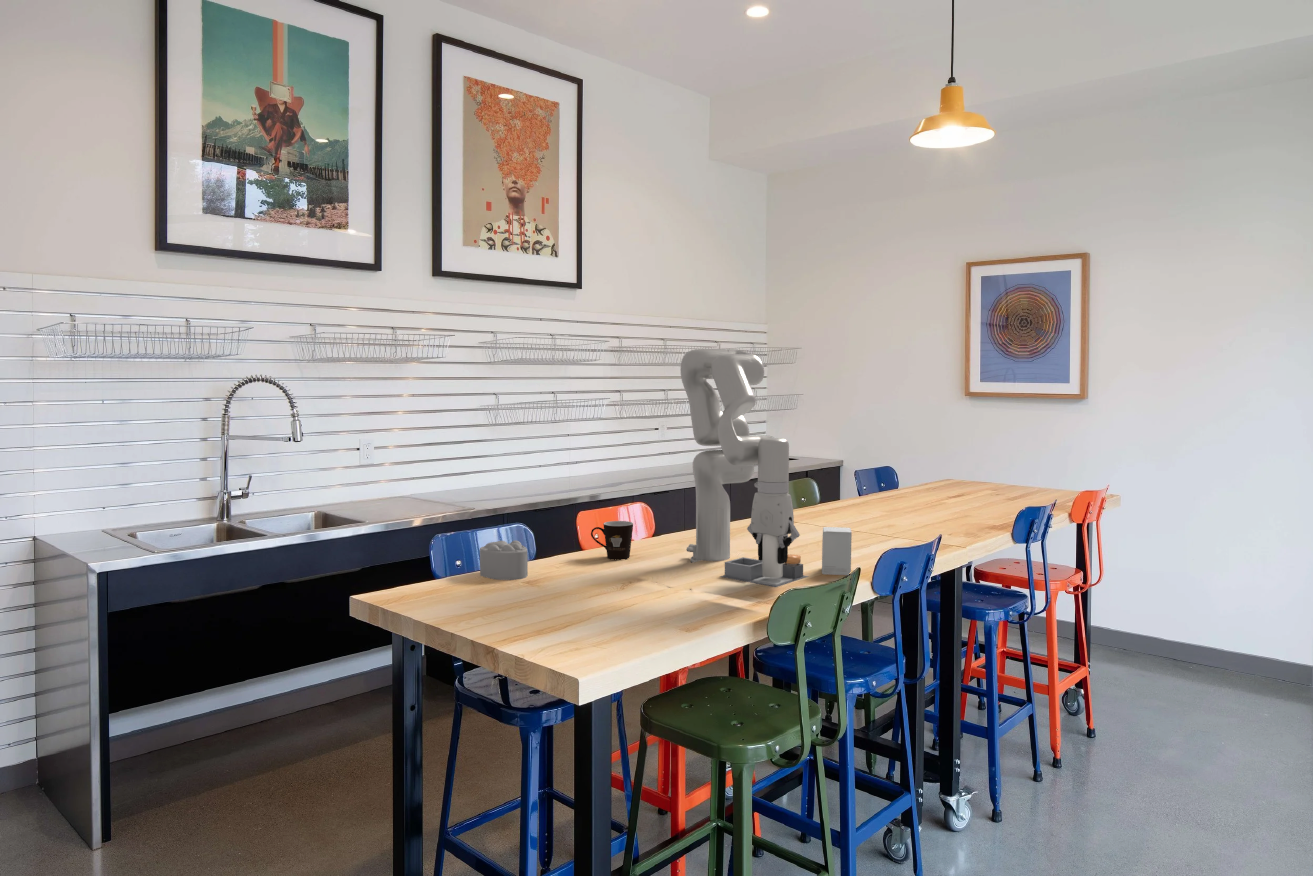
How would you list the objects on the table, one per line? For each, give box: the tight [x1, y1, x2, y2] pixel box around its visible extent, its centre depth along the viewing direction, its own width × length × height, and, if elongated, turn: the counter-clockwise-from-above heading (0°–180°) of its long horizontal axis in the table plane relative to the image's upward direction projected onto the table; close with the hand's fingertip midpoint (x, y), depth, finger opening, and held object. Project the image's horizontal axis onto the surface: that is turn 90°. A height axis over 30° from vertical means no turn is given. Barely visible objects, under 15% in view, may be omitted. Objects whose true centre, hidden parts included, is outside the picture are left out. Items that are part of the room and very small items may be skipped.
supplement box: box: [821, 526, 853, 576], centre depth 223 cm, size 7×7×13 cm
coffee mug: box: [590, 520, 634, 561], centre depth 248 cm, size 12×9×10 cm
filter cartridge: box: [762, 534, 783, 578], centre depth 212 cm, size 5×5×14 cm
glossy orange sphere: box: [786, 553, 802, 566], centre depth 218 cm, size 4×4×4 cm
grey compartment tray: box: [719, 557, 809, 588], centre depth 218 cm, size 17×15×5 cm
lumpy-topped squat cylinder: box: [479, 539, 529, 581], centre depth 226 cm, size 10×13×9 cm
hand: (772, 560), depth 212 cm, fingers closed on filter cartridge, 5 cm apart
